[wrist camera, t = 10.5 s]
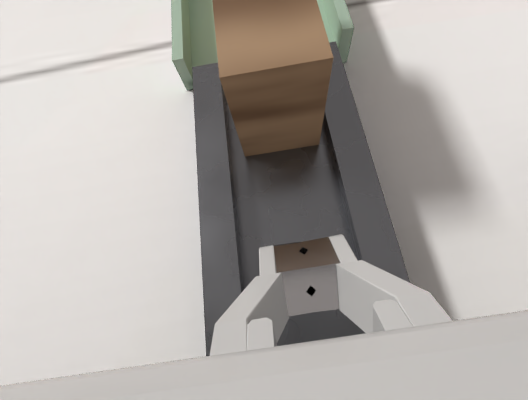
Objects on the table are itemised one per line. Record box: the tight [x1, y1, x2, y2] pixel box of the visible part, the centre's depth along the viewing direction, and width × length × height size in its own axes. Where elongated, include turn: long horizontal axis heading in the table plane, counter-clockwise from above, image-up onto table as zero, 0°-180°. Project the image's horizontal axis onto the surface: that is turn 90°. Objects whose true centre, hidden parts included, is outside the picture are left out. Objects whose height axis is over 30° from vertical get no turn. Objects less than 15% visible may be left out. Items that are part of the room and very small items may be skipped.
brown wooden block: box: [212, 0, 333, 157], centre depth 17 cm, size 10×5×7 cm, turn 7°
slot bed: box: [192, 41, 410, 356], centre depth 17 cm, size 22×11×2 cm, turn 7°
